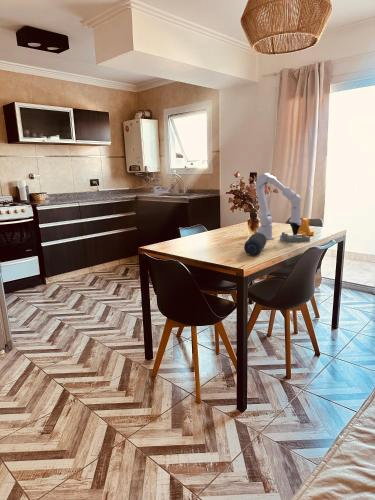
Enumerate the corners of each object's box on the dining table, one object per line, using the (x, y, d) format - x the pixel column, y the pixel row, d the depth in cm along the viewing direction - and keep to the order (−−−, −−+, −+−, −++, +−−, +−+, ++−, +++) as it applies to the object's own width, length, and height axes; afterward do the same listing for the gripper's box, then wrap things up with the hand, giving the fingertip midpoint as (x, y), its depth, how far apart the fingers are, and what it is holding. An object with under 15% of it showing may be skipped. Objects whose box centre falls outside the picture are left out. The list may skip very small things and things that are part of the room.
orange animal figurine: (314, 235, 241) (315, 218, 239) (308, 236, 237) (309, 219, 234) (300, 233, 250) (301, 216, 247) (295, 234, 245) (295, 218, 242)
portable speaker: (251, 246, 216) (251, 231, 214) (267, 247, 213) (267, 231, 210) (242, 257, 193) (242, 239, 191) (260, 258, 190) (260, 240, 187)
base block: (286, 242, 222) (286, 234, 220) (280, 239, 231) (280, 231, 230) (309, 241, 223) (310, 233, 222) (302, 238, 233) (303, 230, 232)
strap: (284, 236, 224) (284, 235, 224) (282, 236, 227) (282, 234, 227) (304, 235, 226) (304, 234, 225) (302, 235, 229) (302, 233, 228)
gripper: (306, 214, 216) (305, 236, 220) (296, 212, 230) (296, 232, 234) (295, 215, 216) (295, 236, 219) (286, 212, 230) (286, 232, 233)
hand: (295, 234), depth 226 cm, fingers closed, pressing on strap
